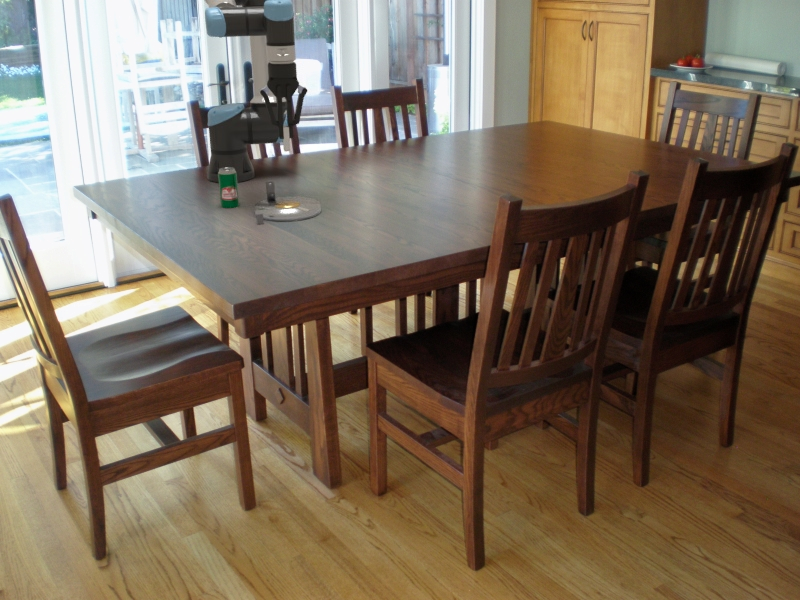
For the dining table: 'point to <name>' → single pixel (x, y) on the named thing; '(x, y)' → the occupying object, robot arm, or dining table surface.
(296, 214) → the turntable
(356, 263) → the dining table surface
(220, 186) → the soda can
